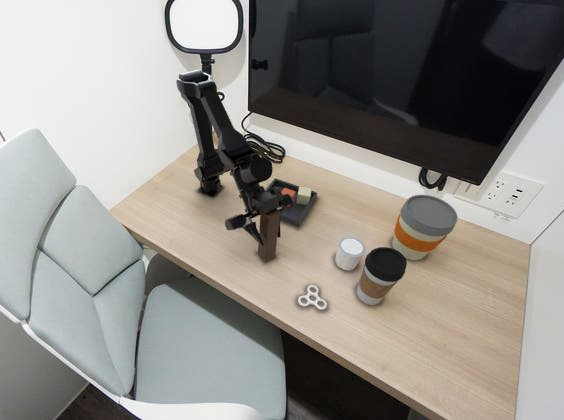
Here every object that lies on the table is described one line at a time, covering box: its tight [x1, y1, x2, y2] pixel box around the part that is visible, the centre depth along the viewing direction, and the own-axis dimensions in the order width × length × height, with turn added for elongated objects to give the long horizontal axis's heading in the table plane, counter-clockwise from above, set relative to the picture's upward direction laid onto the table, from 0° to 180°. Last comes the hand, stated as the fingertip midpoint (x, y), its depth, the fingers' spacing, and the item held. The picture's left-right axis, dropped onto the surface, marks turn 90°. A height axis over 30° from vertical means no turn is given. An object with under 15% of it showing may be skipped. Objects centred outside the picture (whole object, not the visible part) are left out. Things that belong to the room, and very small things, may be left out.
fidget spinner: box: [297, 284, 328, 311], centre depth 79 cm, size 7×6×1 cm
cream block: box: [296, 186, 313, 205], centre depth 103 cm, size 4×4×4 cm
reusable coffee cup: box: [391, 194, 459, 261], centre depth 85 cm, size 13×13×15 cm
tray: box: [265, 177, 318, 228], centre depth 103 cm, size 16×16×3 cm
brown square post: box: [257, 209, 281, 263], centre depth 83 cm, size 4×4×18 cm
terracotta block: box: [282, 188, 296, 208], centre depth 102 cm, size 4×4×4 cm
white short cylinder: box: [334, 236, 366, 271], centre depth 85 cm, size 7×7×7 cm
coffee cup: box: [356, 246, 408, 306], centre depth 74 cm, size 8×8×15 cm
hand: (271, 241), depth 83 cm, fingers open, 5 cm apart
